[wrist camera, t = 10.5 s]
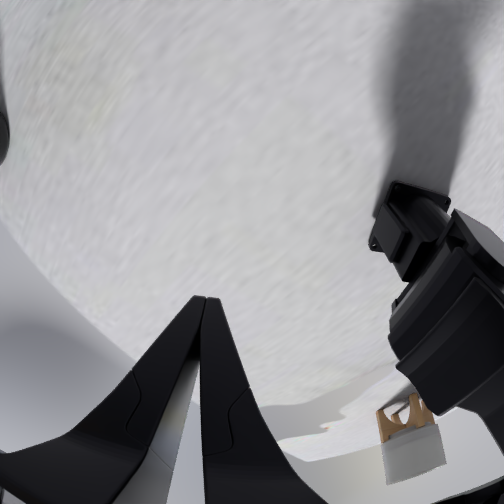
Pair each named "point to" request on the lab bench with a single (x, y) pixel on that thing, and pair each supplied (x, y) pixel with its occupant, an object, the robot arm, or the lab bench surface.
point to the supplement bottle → (3, 139)
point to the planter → (410, 443)
